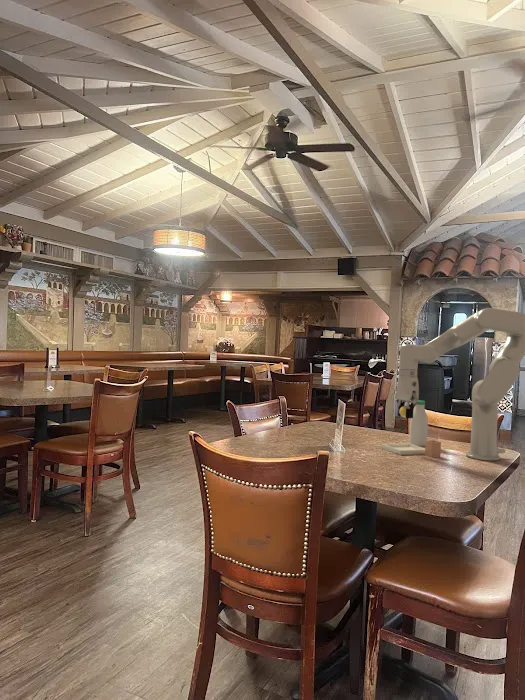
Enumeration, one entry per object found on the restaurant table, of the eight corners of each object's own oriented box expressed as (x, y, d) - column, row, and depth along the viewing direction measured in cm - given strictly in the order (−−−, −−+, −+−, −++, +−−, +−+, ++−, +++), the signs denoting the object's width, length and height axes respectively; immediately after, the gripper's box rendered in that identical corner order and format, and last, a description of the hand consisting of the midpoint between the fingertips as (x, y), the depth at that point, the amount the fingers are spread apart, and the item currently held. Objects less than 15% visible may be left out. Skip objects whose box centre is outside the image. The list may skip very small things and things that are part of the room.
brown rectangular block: (433, 454, 209) (434, 440, 209) (440, 457, 205) (441, 442, 205) (424, 455, 208) (425, 440, 208) (431, 457, 204) (432, 442, 204)
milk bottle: (429, 447, 227) (431, 401, 226) (411, 446, 227) (413, 401, 227) (424, 443, 234) (425, 400, 234) (407, 443, 234) (408, 399, 234)
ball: (406, 417, 218) (407, 405, 217) (413, 418, 213) (414, 406, 213) (396, 416, 216) (397, 405, 216) (403, 418, 211) (404, 406, 211)
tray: (409, 447, 223) (409, 443, 223) (429, 454, 210) (429, 449, 210) (381, 448, 219) (381, 443, 219) (399, 455, 205) (400, 450, 205)
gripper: (428, 375, 207) (425, 420, 207) (403, 372, 224) (401, 414, 224) (412, 374, 205) (409, 420, 205) (388, 372, 221) (386, 414, 221)
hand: (405, 416), depth 214 cm, fingers closed on ball, 4 cm apart
